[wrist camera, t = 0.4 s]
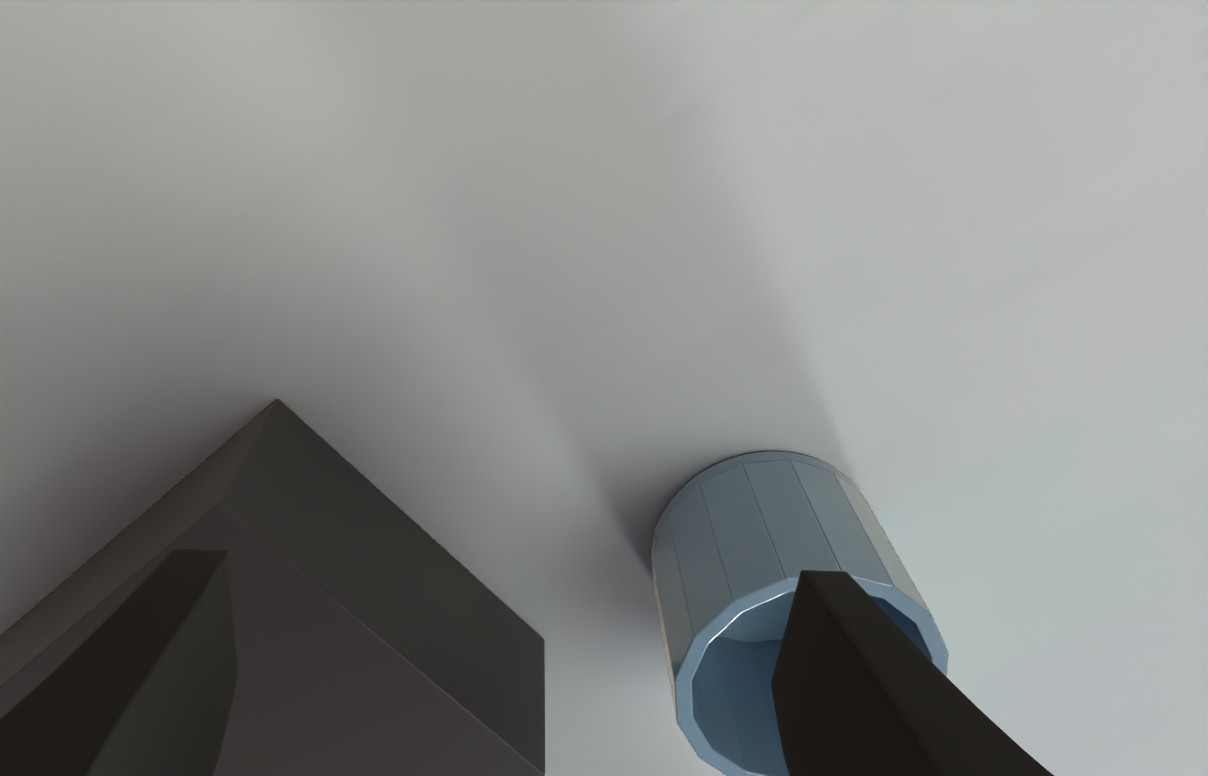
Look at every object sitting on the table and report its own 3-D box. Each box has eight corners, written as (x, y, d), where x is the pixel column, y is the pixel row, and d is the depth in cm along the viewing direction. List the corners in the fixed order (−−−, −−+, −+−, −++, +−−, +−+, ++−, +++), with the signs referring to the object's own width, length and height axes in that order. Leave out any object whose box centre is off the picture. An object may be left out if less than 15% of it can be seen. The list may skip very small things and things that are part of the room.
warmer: (545, 639, 25) (546, 775, 21) (209, 881, 28) (153, 1042, 24) (278, 397, 22) (218, 502, 18) (-71, 696, 25) (-190, 845, 21)
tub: (819, 659, 26) (878, 812, 22) (620, 612, 25) (638, 762, 21) (910, 483, 24) (995, 611, 20) (696, 424, 23) (735, 545, 19)
